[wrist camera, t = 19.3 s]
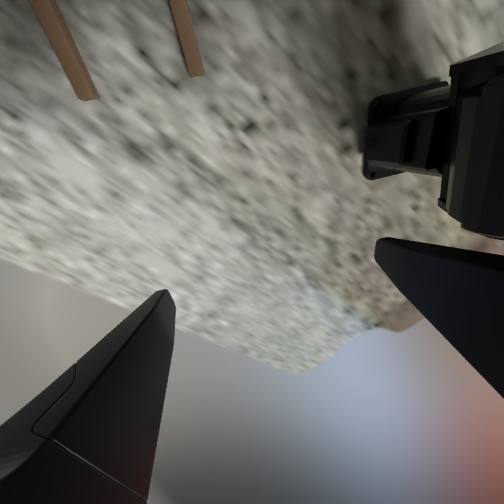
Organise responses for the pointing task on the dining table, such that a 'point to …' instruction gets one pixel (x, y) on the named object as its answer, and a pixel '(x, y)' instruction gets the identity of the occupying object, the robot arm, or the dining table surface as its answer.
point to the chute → (73, 62)
